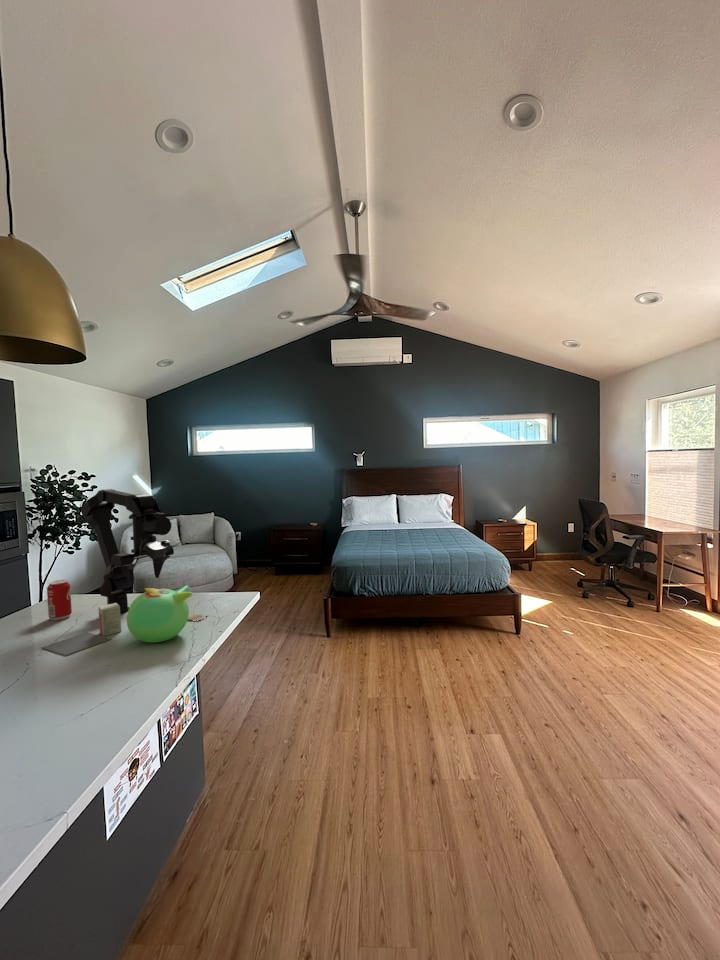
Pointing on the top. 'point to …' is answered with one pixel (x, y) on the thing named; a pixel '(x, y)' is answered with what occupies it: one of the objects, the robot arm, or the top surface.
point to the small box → (109, 619)
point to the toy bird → (158, 614)
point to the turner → (194, 617)
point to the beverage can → (59, 599)
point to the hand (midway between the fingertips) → (144, 581)
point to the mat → (76, 643)
